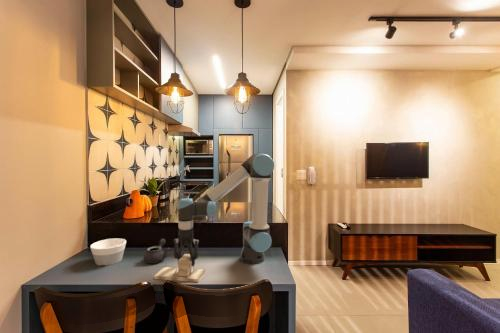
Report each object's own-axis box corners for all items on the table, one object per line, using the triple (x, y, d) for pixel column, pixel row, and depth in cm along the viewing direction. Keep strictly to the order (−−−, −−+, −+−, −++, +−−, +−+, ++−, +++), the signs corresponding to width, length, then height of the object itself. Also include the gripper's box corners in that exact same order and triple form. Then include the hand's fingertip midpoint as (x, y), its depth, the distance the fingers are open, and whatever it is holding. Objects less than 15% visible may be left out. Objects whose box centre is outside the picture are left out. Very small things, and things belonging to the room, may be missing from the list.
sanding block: (185, 269, 140) (185, 253, 140) (194, 269, 140) (193, 254, 139) (178, 276, 131) (178, 260, 131) (187, 277, 131) (187, 260, 130)
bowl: (94, 270, 142) (93, 251, 141) (87, 260, 156) (87, 242, 156) (130, 261, 155) (130, 243, 154) (121, 252, 169) (121, 236, 169)
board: (205, 272, 140) (205, 269, 140) (198, 282, 129) (198, 279, 129) (164, 269, 143) (164, 266, 143) (154, 278, 132) (154, 276, 132)
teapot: (167, 264, 150) (167, 247, 150) (140, 265, 149) (140, 248, 149) (174, 252, 169) (174, 237, 168) (150, 253, 168) (150, 238, 167)
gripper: (204, 226, 137) (205, 269, 138) (172, 225, 140) (173, 267, 141) (200, 230, 130) (200, 275, 131) (166, 229, 132) (167, 273, 133)
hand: (186, 271), depth 136 cm, fingers closed on sanding block, 5 cm apart
